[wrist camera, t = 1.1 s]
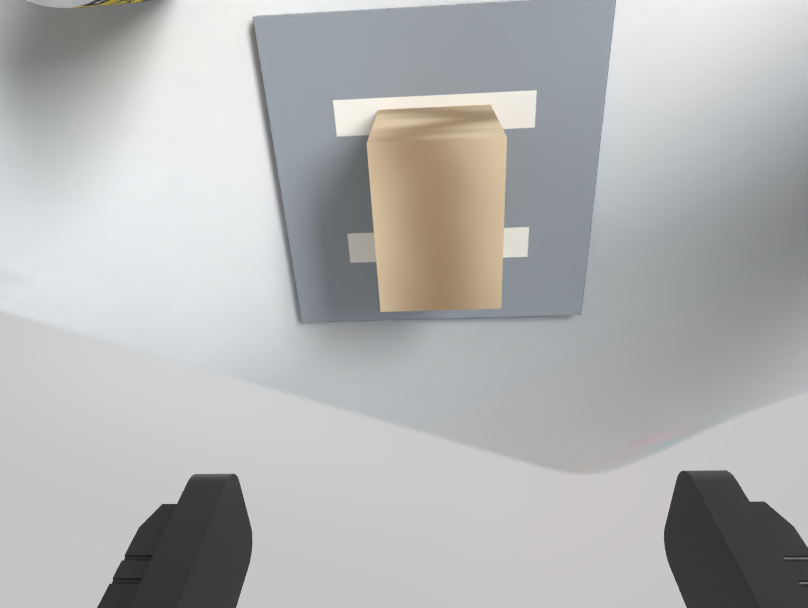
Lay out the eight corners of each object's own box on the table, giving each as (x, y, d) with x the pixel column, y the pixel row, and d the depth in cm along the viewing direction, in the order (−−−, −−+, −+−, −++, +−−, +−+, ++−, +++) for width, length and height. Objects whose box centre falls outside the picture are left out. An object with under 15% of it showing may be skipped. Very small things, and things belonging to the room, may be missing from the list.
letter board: (612, -5, 24) (616, -4, 24) (578, 309, 32) (581, 314, 31) (256, 15, 25) (252, 17, 24) (304, 316, 32) (302, 322, 32)
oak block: (490, 104, 26) (507, 137, 21) (487, 249, 29) (501, 308, 24) (378, 109, 26) (366, 143, 21) (388, 252, 30) (380, 312, 24)
